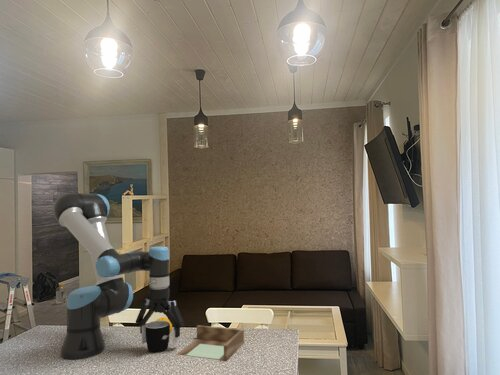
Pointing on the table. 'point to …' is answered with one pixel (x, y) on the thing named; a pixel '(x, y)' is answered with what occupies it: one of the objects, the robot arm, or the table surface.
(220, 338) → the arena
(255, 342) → the table surface
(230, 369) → the table surface
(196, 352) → the pad
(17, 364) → the table surface
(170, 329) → the yellow orange fruit
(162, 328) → the mug
